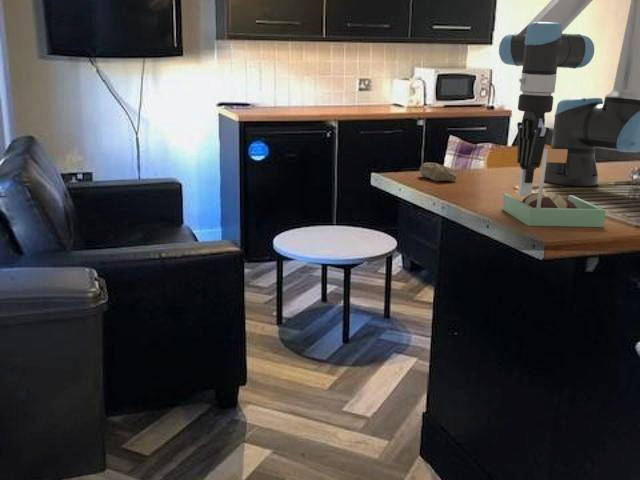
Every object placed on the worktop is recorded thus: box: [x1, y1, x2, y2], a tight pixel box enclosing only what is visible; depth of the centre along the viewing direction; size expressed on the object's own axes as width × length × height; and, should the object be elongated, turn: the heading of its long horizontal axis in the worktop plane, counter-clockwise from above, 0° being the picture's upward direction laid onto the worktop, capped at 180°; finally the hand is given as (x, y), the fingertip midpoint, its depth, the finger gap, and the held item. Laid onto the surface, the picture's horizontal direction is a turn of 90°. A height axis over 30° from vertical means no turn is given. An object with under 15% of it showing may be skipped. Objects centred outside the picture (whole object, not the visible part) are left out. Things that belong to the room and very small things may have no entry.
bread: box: [521, 192, 577, 209], centre depth 146 cm, size 11×11×5 cm
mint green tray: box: [501, 148, 607, 228], centre depth 143 cm, size 16×15×16 cm
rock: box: [419, 162, 458, 183], centre depth 187 cm, size 8×11×4 cm
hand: (524, 195), depth 160 cm, fingers closed
